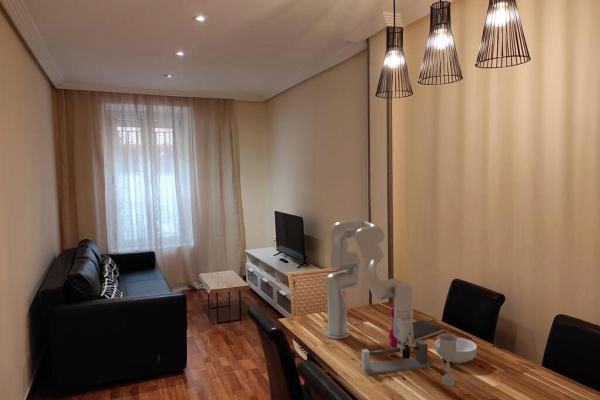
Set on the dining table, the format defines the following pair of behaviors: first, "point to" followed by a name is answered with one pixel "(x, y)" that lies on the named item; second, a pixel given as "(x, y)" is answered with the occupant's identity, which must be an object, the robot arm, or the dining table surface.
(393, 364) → the linear slide rail
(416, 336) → the hardcover book
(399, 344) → the sleeve
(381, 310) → the dining table surface
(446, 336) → the chalice
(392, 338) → the pepper mill
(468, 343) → the cereal bowl
